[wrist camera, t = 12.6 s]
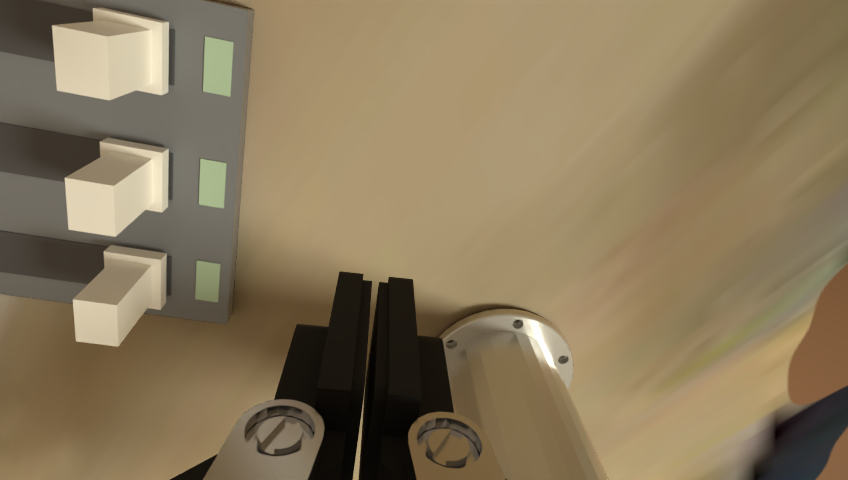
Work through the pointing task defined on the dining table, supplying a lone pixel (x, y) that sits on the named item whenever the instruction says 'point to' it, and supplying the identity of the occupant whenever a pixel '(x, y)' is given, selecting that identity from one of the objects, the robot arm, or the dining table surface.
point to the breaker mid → (117, 187)
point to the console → (135, 122)
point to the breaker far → (120, 295)
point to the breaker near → (112, 55)
